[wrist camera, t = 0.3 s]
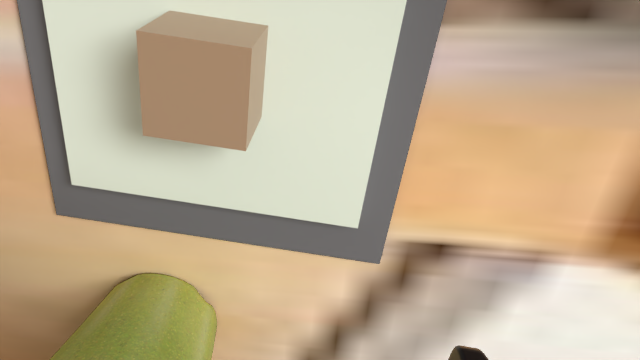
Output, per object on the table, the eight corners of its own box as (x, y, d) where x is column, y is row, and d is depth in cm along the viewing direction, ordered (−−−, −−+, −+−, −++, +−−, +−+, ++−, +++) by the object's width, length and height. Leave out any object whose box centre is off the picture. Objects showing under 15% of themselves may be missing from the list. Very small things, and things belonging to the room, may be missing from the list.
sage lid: (357, 218, 22) (357, 273, 19) (80, 175, 22) (32, 223, 19) (426, -105, 16) (443, -105, 12) (30, -166, 16) (-58, -182, 12)
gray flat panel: (379, 260, 24) (379, 263, 24) (59, 211, 24) (56, 214, 24) (494, -192, 15) (496, -194, 14) (-28, -273, 15) (-35, -276, 14)
